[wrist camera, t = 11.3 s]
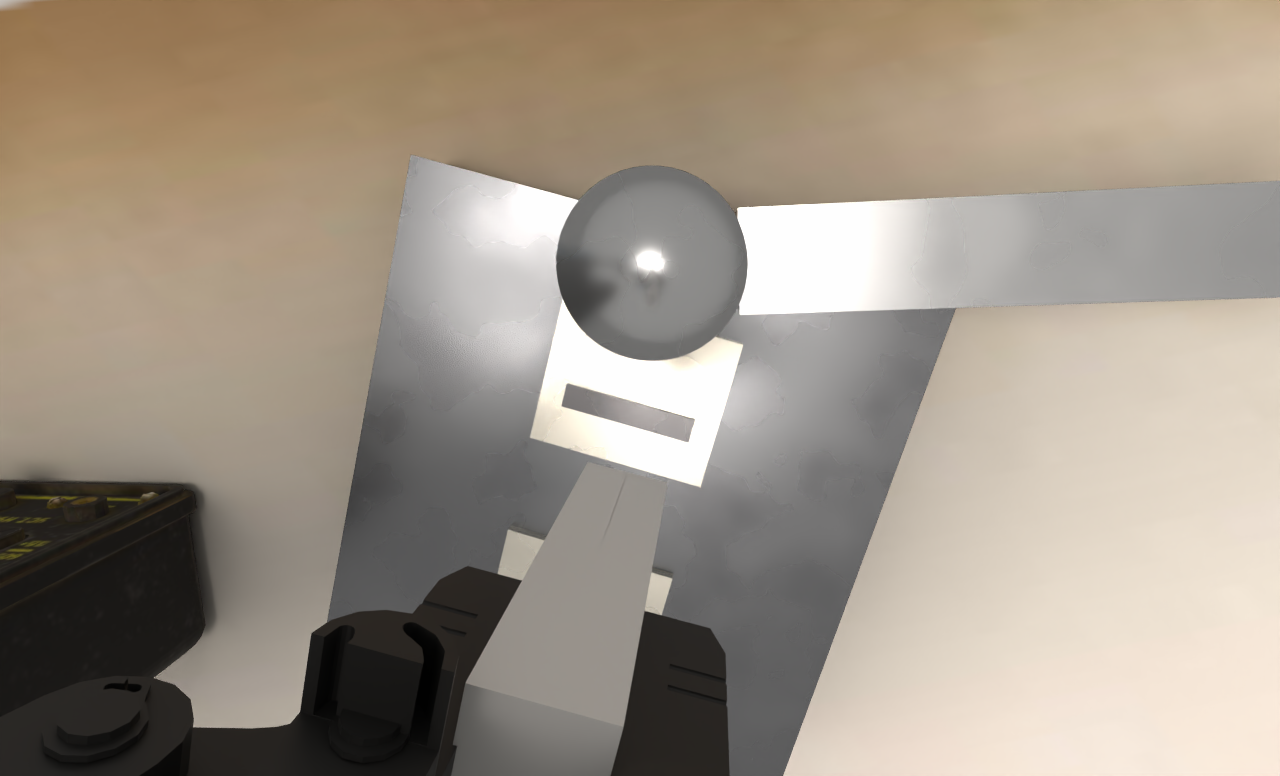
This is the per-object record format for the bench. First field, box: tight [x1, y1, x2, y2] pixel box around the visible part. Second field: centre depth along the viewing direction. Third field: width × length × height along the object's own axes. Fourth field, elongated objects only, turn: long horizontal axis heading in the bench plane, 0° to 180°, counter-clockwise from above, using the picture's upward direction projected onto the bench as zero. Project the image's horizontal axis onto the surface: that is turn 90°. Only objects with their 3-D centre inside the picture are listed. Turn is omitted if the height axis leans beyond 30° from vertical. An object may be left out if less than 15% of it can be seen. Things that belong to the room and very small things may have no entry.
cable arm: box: [556, 166, 1280, 361], centre depth 17 cm, size 4×21×4 cm, turn 93°
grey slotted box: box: [327, 155, 956, 776], centre depth 24 cm, size 18×20×6 cm
